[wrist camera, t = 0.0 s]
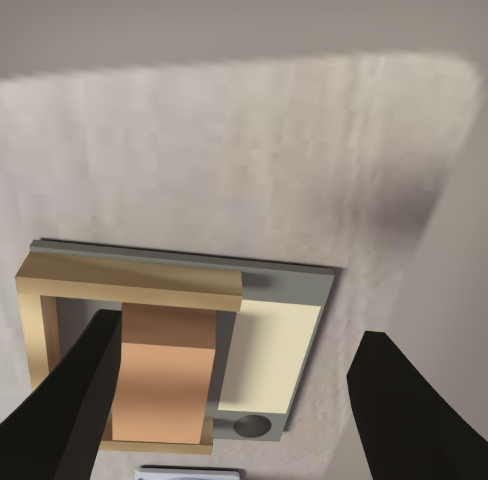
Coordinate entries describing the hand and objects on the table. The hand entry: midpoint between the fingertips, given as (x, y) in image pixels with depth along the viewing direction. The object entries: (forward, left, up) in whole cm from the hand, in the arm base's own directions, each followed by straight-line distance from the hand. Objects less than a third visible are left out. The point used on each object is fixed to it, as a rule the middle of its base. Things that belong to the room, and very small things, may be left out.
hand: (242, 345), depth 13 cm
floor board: (-11, +2, -10) cm, 15 cm away
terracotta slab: (-11, +2, -9) cm, 15 cm away
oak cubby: (-11, +4, -9) cm, 15 cm away
